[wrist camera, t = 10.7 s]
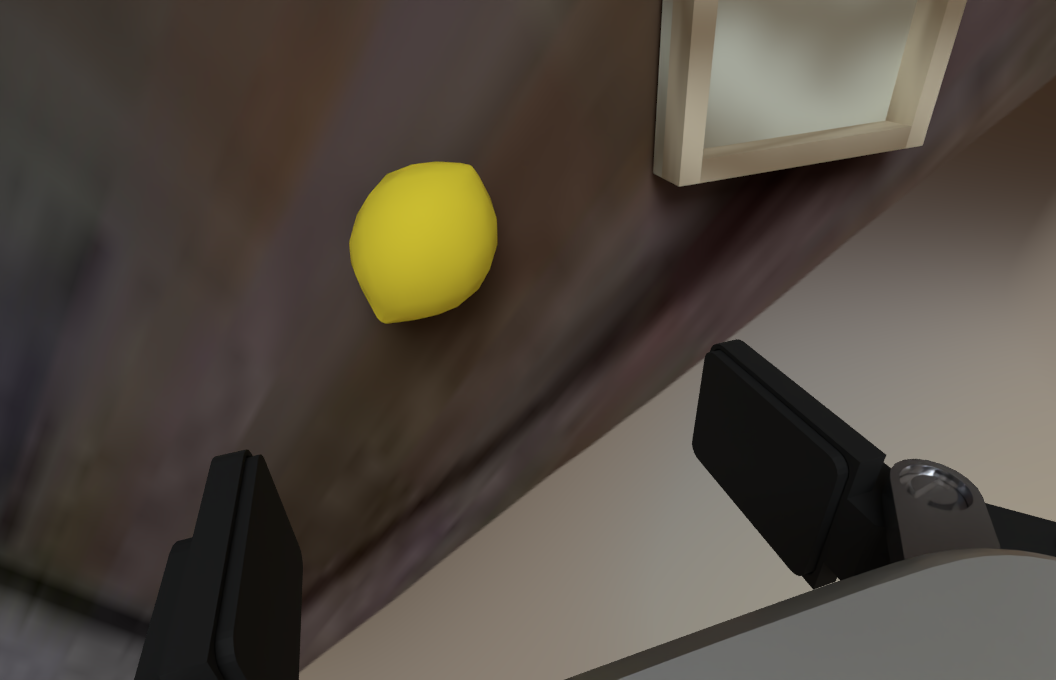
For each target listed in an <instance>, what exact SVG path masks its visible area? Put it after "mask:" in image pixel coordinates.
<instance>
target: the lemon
mask: <svg viewBox="0 0 1056 680" xmlns="http://www.w3.org/2000/svg"><path fill="white" fill-rule="evenodd" d="M349 246H350V257H351V265H352V267H353V269H354V273H355V275H356V277H357V280H358V282H359V284H360V287H361V289H362V291H363V293H364V294H365V296H366V298H367V300H368V302H369V304H370V305H371V307H372V309H373V311H374V313H375V315H376V317H377V318H378V319H379V320H380V321H381V322H383V323H386V324H388V323H395V322H403V321H410V320H417V319H421V318H426V317H430V316H434V315H438V314H441V313H443V312H446V311H448V310H451V309H453V308H455V307H458V306H459V305H460V304H461V303H462V302H464V301H465V300H466V299H467V298H468V297H470V296H471V295H472V294H473V293H474V292H476V291H477V290H478V289H479V288H480V286H481V284H482V282H483V280H484V279H485V277H486V275H487V273H488V271H489V270H490V267H491V264H492V260H493V257H494V254H495V250H496V247H497V218H496V215H495V212H494V209H493V206H492V202H491V199H490V196H489V194H488V192H487V191H486V189H485V187H484V185H483V183H482V181H481V179H480V177H479V175H478V174H477V173H476V171H475V170H474V168H473V167H472V166H470V165H467V164H462V163H451V162H428V163H420V164H412V165H410V166H407V167H404V168H402V169H399V170H396V171H394V172H391V173H388V174H387V175H386V176H385V177H384V178H383V179H382V180H381V182H380V183H379V184H378V185H377V186H376V187H375V188H374V189H373V191H372V192H371V193H370V194H369V196H368V197H367V199H366V201H365V202H364V204H363V205H362V207H361V209H360V210H359V212H358V214H357V216H356V220H355V223H354V227H353V230H352V234H351V238H350V241H349Z"/></svg>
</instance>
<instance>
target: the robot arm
mask: <svg viewBox="0 0 1056 680" xmlns="http://www.w3.org/2000/svg"><path fill="white" fill-rule="evenodd" d="M692 446H693V450H694V453H695V455H696V457H697V458H698V459H699V461H700V462H701V463H702V464H703V466H704V467H705V468H706V469H707V470H708V472H709V473H710V474H711V475H712V476H713V478H714V479H715V480H716V481H717V482H718V484H719V485H720V486H721V487H722V488H723V490H724V491H725V492H726V493H727V494H728V496H729V497H730V498H731V499H732V500H733V502H734V503H735V504H736V505H737V506H738V508H739V509H740V510H741V511H742V512H743V514H744V515H745V516H746V517H747V518H748V519H749V521H750V522H751V523H752V524H753V526H754V527H755V528H756V529H757V530H758V532H759V533H760V534H761V535H762V536H763V538H764V539H765V540H766V541H767V543H768V544H769V545H770V546H771V547H772V548H773V550H774V551H775V552H776V553H777V554H778V555H779V557H780V558H781V559H782V561H783V562H784V563H785V564H786V565H787V567H788V568H789V569H790V570H791V571H792V572H793V573H794V574H796V575H798V576H802V577H803V578H804V579H805V580H806V581H807V583H808V584H809V585H810V586H811V587H812V588H813V589H815V590H812V591H809V592H807V593H804V594H801V595H798V596H795V597H792V598H790V599H787V600H784V601H781V602H778V603H776V604H773V605H770V606H767V607H764V608H761V609H759V610H756V611H753V612H750V613H747V614H745V615H742V616H739V617H736V618H733V619H731V620H728V621H725V622H722V623H719V624H717V625H714V626H711V627H708V628H706V629H703V630H700V631H698V632H695V633H692V634H689V635H686V636H684V637H681V638H678V639H675V640H672V641H670V642H667V643H664V644H661V645H659V646H656V647H653V648H651V649H647V650H645V651H642V652H639V653H636V654H634V655H631V656H628V657H626V658H623V659H620V660H617V661H614V662H612V663H609V664H607V665H603V666H601V667H598V668H596V669H592V670H590V671H587V672H584V673H582V674H579V675H576V676H573V677H570V678H568V679H565V680H1056V522H1054V521H1050V520H1046V519H1042V518H1039V517H1035V516H1031V515H1028V514H1024V513H1020V512H1016V511H1013V510H1009V509H1005V508H1002V507H997V506H994V505H990V504H987V503H985V502H984V499H983V497H982V495H981V493H980V492H979V490H978V488H977V487H976V486H975V485H974V484H973V483H972V482H971V481H970V480H969V479H967V478H966V477H965V476H963V475H962V474H960V473H959V472H957V471H955V470H953V469H951V468H949V467H946V466H944V465H942V464H939V463H935V462H931V461H929V460H921V459H908V460H902V461H900V462H897V463H895V464H894V466H893V467H892V468H890V467H889V466H887V465H886V464H885V463H884V459H885V457H886V454H884V453H883V452H882V451H881V450H879V449H878V448H877V447H876V446H874V445H873V444H872V443H871V442H869V441H868V440H867V439H865V438H864V437H863V436H862V435H860V434H859V433H858V432H857V431H855V430H854V429H853V428H851V427H850V426H849V425H848V424H847V423H845V422H844V421H843V420H842V419H840V418H839V417H838V416H837V415H835V414H834V413H833V412H831V411H830V410H829V409H828V408H826V407H825V406H824V405H822V404H821V403H820V402H819V401H818V400H816V399H815V398H814V397H812V396H811V395H810V394H809V393H808V392H806V391H805V390H804V389H803V388H801V387H800V386H799V385H797V384H796V383H795V382H794V381H792V380H791V379H790V378H789V377H787V376H786V375H785V374H783V373H782V372H781V371H780V370H779V369H777V368H776V367H775V366H773V365H772V364H771V363H770V362H768V361H767V360H766V359H765V358H763V357H762V356H761V355H760V354H758V353H757V352H756V351H755V350H753V349H752V348H751V347H750V346H748V345H747V344H746V343H745V342H743V341H741V340H732V341H728V342H723V343H719V344H715V345H713V346H712V348H711V350H710V352H709V353H707V354H706V356H705V360H704V366H703V373H702V381H701V386H700V394H699V400H698V406H697V413H696V420H695V427H694V433H693V441H692ZM302 575H303V562H302V555H301V550H300V547H299V545H298V542H297V540H296V537H295V535H294V532H293V530H292V527H291V525H290V522H289V520H288V517H287V515H286V512H285V510H284V507H283V504H282V502H281V499H280V497H279V494H278V492H277V489H276V487H275V484H274V482H273V479H272V477H271V474H270V472H269V469H268V467H267V464H266V462H265V459H264V457H263V456H262V455H256V456H252V454H251V452H250V451H249V450H242V451H238V452H234V453H229V454H225V455H220V456H216V457H214V458H213V459H212V462H211V465H210V469H209V473H208V477H207V481H206V485H205V489H204V494H203V498H202V502H201V506H200V510H199V514H198V518H197V522H196V526H195V530H194V534H193V537H192V538H188V539H184V540H180V541H177V542H176V543H175V544H174V545H173V547H172V549H171V552H170V554H169V557H168V561H167V564H166V568H165V572H164V575H163V579H162V582H161V586H160V589H159V593H158V597H157V600H156V604H155V607H154V611H153V614H152V618H151V621H150V625H149V629H148V632H147V636H146V639H145V643H144V646H143V650H142V653H141V657H140V661H139V664H138V668H137V671H136V675H135V678H134V680H299V658H300V630H301V602H302ZM837 577H838V578H839V579H840V581H838V582H835V581H836V579H837ZM833 582H835V583H833ZM830 583H832V584H830ZM827 584H829V585H827ZM824 585H826V586H824ZM822 586H823V587H822ZM819 587H821V588H819ZM816 588H818V589H816Z"/></svg>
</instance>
